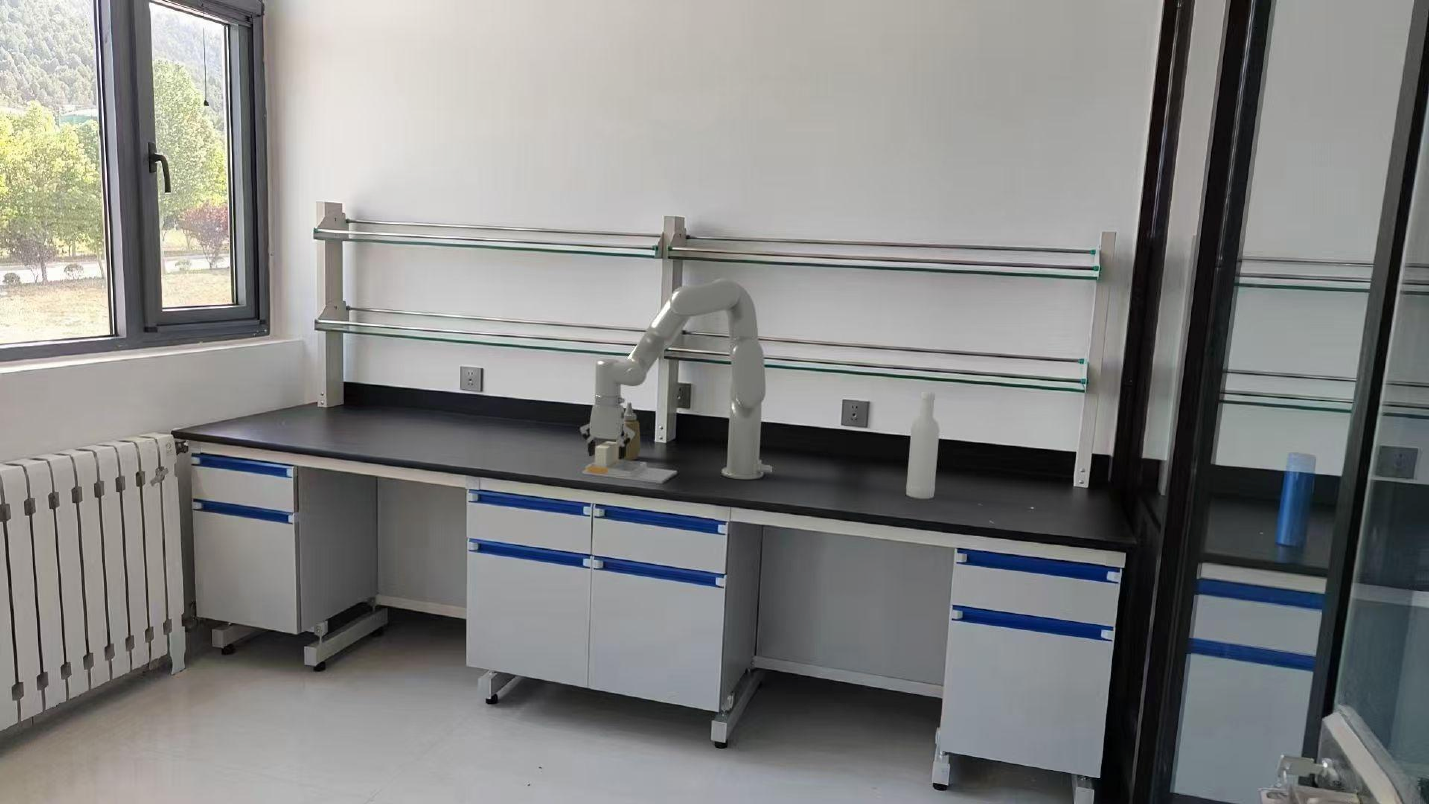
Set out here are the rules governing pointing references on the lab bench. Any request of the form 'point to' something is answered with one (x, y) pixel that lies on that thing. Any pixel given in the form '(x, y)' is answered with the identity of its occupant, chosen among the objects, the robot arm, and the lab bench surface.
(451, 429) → the lab bench surface
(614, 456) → the tall ivory prism
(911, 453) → the bottle
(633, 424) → the squeeze bottle
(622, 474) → the grey framed tray board
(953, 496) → the lab bench surface
